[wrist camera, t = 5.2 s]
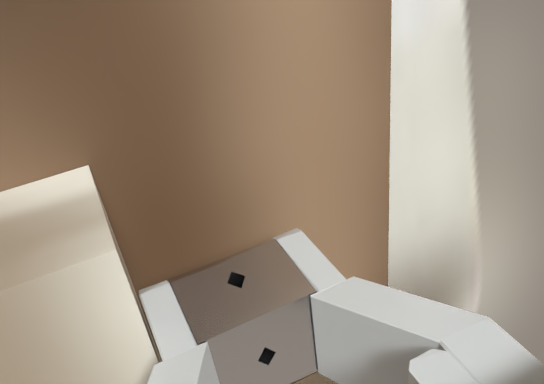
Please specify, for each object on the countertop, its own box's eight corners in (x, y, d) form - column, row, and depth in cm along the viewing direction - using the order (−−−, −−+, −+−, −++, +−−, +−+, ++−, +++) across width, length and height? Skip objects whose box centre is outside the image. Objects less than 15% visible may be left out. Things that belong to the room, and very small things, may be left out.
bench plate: (-21, 427, 14) (-24, 538, 11) (-344, 9, 8) (-492, 66, 5) (333, 275, 17) (387, 337, 15) (307, -105, 11) (392, -103, 8)
